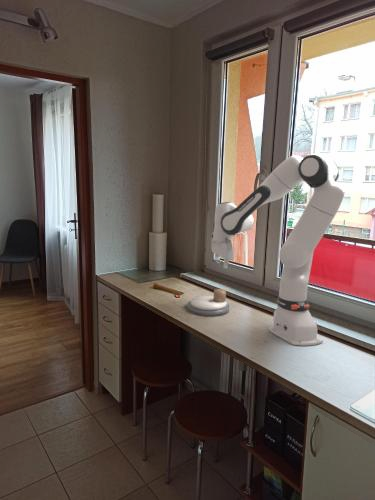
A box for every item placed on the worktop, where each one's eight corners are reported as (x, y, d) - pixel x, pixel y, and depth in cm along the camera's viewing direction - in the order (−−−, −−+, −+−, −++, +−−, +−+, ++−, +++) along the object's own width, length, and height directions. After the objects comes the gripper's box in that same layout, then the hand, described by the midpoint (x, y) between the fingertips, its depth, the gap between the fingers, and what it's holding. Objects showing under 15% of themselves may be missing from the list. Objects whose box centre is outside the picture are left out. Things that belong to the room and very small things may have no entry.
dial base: (235, 314, 170) (236, 310, 170) (194, 317, 165) (194, 312, 164) (220, 300, 189) (220, 296, 189) (182, 303, 184) (182, 298, 183)
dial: (231, 309, 171) (232, 295, 170) (196, 311, 166) (197, 297, 165) (218, 297, 187) (219, 285, 186) (186, 299, 182) (187, 286, 181)
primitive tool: (185, 293, 200) (185, 287, 199) (179, 296, 195) (180, 290, 194) (155, 287, 209) (155, 281, 208) (149, 290, 204) (150, 284, 203)
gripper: (238, 240, 163) (236, 270, 166) (221, 233, 182) (220, 260, 185) (224, 240, 161) (223, 271, 164) (209, 233, 180) (208, 261, 183)
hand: (221, 265), depth 174 cm, fingers open, 8 cm apart
